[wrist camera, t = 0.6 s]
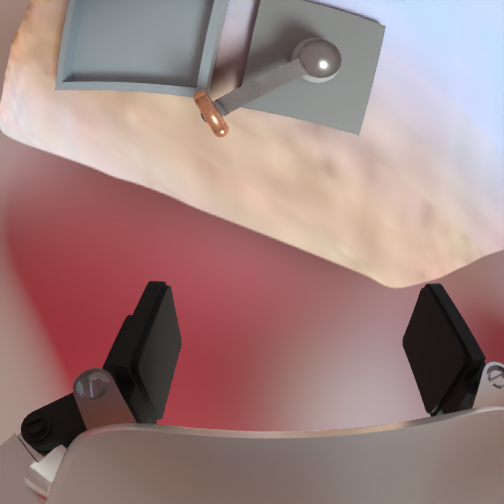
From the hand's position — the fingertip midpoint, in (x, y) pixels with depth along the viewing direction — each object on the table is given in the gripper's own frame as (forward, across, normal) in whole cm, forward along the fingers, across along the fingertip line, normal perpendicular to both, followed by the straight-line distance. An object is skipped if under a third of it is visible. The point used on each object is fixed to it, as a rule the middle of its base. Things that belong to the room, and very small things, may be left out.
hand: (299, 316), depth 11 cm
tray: (+28, +16, -14) cm, 35 cm away
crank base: (+28, -4, -10) cm, 30 cm away
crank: (+25, +1, -8) cm, 26 cm away
